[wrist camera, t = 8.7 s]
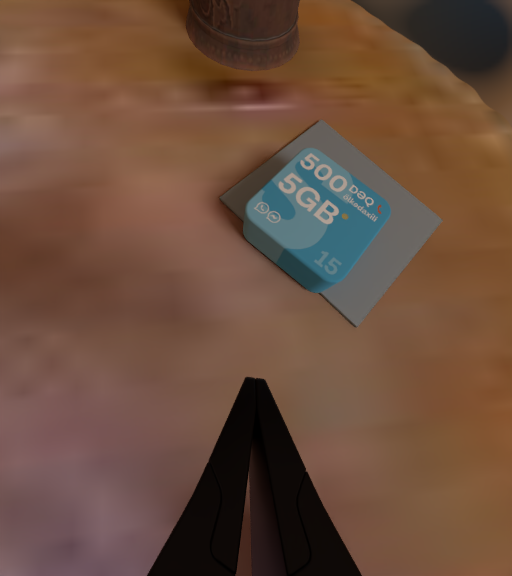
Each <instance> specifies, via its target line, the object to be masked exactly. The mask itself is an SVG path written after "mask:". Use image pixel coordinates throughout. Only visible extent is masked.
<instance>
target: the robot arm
mask: <svg viewBox="0 0 512 576" xmlns="http://www.w3.org/2000/svg"><path fill="white" fill-rule="evenodd" d="M305 471H306V468H305V466H304V464H303V461H302V459H301V457H300V455H299V453H298V450H297V448H296V446H295V444H294V442H293V440H292V437H291V435H290V433H289V431H288V429H287V426H286V424H285V422H284V420H283V418H282V415H281V413H280V411H279V409H278V407H277V404H276V402H275V400H274V398H273V396H272V393H271V391H270V389H269V387H268V385H267V383H266V381H265V380H264V379H260V378H256V379H255V378H252V377H246V378H245V380H244V382H243V384H242V386H241V389H240V391H239V393H238V395H237V398H236V400H235V402H234V404H233V407H232V409H231V411H230V413H229V416H228V418H227V420H226V422H225V425H224V427H223V429H222V431H221V434H220V436H219V438H218V440H217V443H216V445H215V447H214V449H213V452H212V454H211V456H210V458H209V462H208V463H207V465H206V467H205V469H204V472H203V474H202V476H201V478H200V480H199V482H198V484H197V486H196V489H195V491H194V493H193V495H192V497H191V498H190V500H189V502H188V504H187V506H186V508H185V510H184V511H183V513H182V515H181V517H180V519H179V520H178V522H177V524H176V526H175V527H174V529H173V531H172V533H171V534H170V536H169V538H168V540H167V541H166V543H165V545H164V547H163V548H162V550H161V552H160V554H159V555H158V557H157V559H156V561H155V562H154V564H153V566H152V568H151V569H150V571H149V573H148V575H147V576H235V574H236V570H237V562H238V554H239V546H240V538H241V529H242V521H243V513H244V505H245V497H246V488H247V480H248V472H249V482H250V519H251V556H252V576H362V575H361V573H360V571H359V569H358V568H357V566H356V564H355V562H354V560H353V559H352V557H351V555H350V553H349V551H348V550H347V548H346V546H345V544H344V542H343V541H342V539H341V537H340V535H339V534H338V532H337V530H336V528H335V526H334V524H333V523H332V521H331V519H330V517H329V515H328V513H327V511H326V510H325V508H324V506H323V504H322V502H321V500H320V498H319V496H318V494H317V492H316V489H315V487H314V485H313V483H312V481H311V479H310V477H309V474H308V472H307V471H306V472H305Z"/></svg>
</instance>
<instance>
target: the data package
mask: <svg viewBox="0 0 512 576" xmlns="http://www.w3.org/2000/svg"><path fill="white" fill-rule="evenodd" d="M390 215H391V208H390V205H389V204H388V202H387V201H386V200H385V199H384V198H382V197H381V196H380V195H378V194H377V193H376V192H374V191H373V190H372V189H370V188H369V187H368V186H366V185H365V184H364V183H362V182H361V181H360V180H358V179H357V178H356V177H354V176H353V175H352V174H350V173H349V172H348V171H346V170H345V169H344V168H342V167H341V166H340V165H338V164H337V163H336V162H334V161H333V160H331V159H330V158H329V157H327V156H326V155H325V154H323V153H322V152H321V151H319V150H317V149H315V148H305V149H303V150H301V151H300V152H299V153H298V154H297V155H296V156H295V157H294V158H293V159H291V160H290V161H289V162H288V163H287V164H286V165H285V166H284V167H283V168H282V169H281V170H280V171H279V172H278V173H277V174H276V175H275V176H274V177H273V178H272V179H271V180H270V181H268V182H267V183H266V184H265V185H264V186H263V187H262V188H261V189H260V190H259V191H258V192H257V193H256V194H255V195H254V196H253V197H252V198H251V199H250V200H249V201H248V202H247V204H246V206H245V214H244V225H243V234H244V237H245V238H246V240H247V241H249V242H250V243H251V244H252V245H253V246H255V247H256V248H257V249H258V250H259V251H261V252H262V253H263V254H264V255H266V256H267V257H268V258H269V259H270V260H272V261H273V262H274V263H275V264H277V265H278V266H279V267H280V268H281V269H283V270H284V271H285V272H286V273H288V274H289V275H290V276H291V277H292V278H294V279H295V280H296V281H297V282H299V283H300V284H301V285H302V286H303V287H305V288H306V289H307V290H309V291H311V292H314V293H319V292H322V291H324V290H326V289H328V288H330V287H331V286H333V285H335V284H337V283H339V282H340V281H342V280H343V279H344V278H345V277H346V276H347V274H348V273H349V272H350V270H351V269H352V268H353V266H354V265H355V264H356V262H357V261H358V260H359V258H360V257H361V256H362V254H363V253H364V251H365V250H366V249H367V247H368V246H369V245H370V243H371V242H372V241H373V239H374V238H375V237H376V235H377V234H378V233H379V231H380V230H381V228H382V227H383V226H384V224H385V223H386V222H387V220H388V219H389V217H390Z"/></svg>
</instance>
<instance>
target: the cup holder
mask: <svg viewBox="0 0 512 576" xmlns="http://www.w3.org/2000/svg"><path fill="white" fill-rule="evenodd" d="M299 1H300V0H189V2H190V7H189V11H188V15H187V21H186V29H187V32H188V35H189V38H190V39H191V41H192V42H193V43H194V45H195V46H196V48H198V49H199V50H200V51H201V52H202V53H203V54H205V55H206V56H207V57H209V58H211V59H212V60H214V61H216V62H218V63H220V64H222V65H225V66H229V67H232V68H235V69H241V70H249V71H258V70H269V69H272V68H275V67H279V66H281V65H283V64H284V63H286V62H288V61H289V60H291V58H292V57H293V56H294V55H295V53H296V52H297V50H298V46H299V43H300V42H299V32H298V27H297V22H298V6H299Z"/></svg>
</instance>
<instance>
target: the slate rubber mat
mask: <svg viewBox="0 0 512 576" xmlns="http://www.w3.org/2000/svg"><path fill="white" fill-rule="evenodd" d="M305 148H315V149H317V150H319V151H321V152H322V153H323V154H325V155H326V156H327V157H329V158H330V159H331V160H333V161H334V162H336V163H337V164H338V165H340V166H341V167H342V168H344V169H345V170H346V171H348V172H349V173H350V174H352V175H353V176H354V177H356V178H357V179H358V180H360V181H361V182H362V183H364V184H365V185H366V186H368V187H369V188H370V189H372V190H373V191H374V192H376V193H377V194H378V195H380V196H381V197H382V198H384V199H385V200H386V201H387V202H388V204H389V205H390V208H391V215H390V217H389V219H388V220H387V222H386V223H385V224H384V226H383V227H382V228H381V230H380V231H379V233H378V234H377V235H376V237H375V238H374V239H373V241H372V242H371V243H370V245H369V246H368V247H367V249H366V250H365V251H364V253H363V254H362V256H361V257H360V258H359V260H358V261H357V262H356V264H355V265H354V266H353V268H352V269H351V270H350V272H349V273H348V274H347V276H346V277H345V278H344V279H343V280H342V281H340V282H339V283H337V284H335V285H333V286H331V287H330V288H328V289H326V290H324V291H322V292H319V294H320V295H322V296H323V297H324V298H325V299H326V300H327V301H328V302H329V303H330V304H331V305H332V306H333V307H334V308H335V309H336V310H337V311H338V312H340V313H341V314H342V315H343V316H344V317H345V318H346V319H347V320H348V321H349V322H350V323H351V324H352V325H353V326H354V327H358V326H359V324H360V323H361V322H362V321H363V319H364V318H365V317H366V316H367V314H368V313H369V312H370V311H371V309H372V308H373V307H374V306H375V304H376V303H377V302H378V301H379V299H380V298H381V297H382V296H383V294H384V293H385V292H386V291H387V289H388V288H389V287H390V286H391V284H392V283H393V282H394V281H395V279H396V278H397V277H398V276H399V274H400V273H401V272H402V271H403V269H404V268H405V267H406V266H407V264H408V263H409V262H410V261H411V259H412V258H413V257H414V256H415V254H416V253H417V252H418V251H419V249H420V248H421V247H422V246H423V244H424V243H425V242H426V241H427V239H428V238H429V237H430V236H431V234H432V233H433V232H434V231H435V229H436V228H437V227H438V226H439V224H440V223H441V222H442V221H443V220H442V219H441V218H440V217H438V216H437V215H436V214H435V213H434V212H432V211H431V210H430V209H429V208H427V207H426V206H425V205H424V204H423V203H421V202H420V201H419V200H418V199H417V198H415V197H414V196H413V195H412V194H411V193H409V192H408V191H407V190H406V189H405V188H403V187H402V186H401V185H400V184H399V183H397V182H396V181H395V180H394V179H393V178H391V177H390V176H389V175H388V174H387V173H385V172H384V171H383V170H382V169H381V168H379V167H378V166H377V165H376V164H375V163H373V162H372V161H371V160H370V159H368V158H367V157H366V156H365V155H364V154H362V153H361V152H360V151H359V150H358V149H356V148H355V147H354V146H353V145H352V144H350V143H349V142H348V141H347V140H346V139H344V138H343V137H342V136H341V135H340V134H338V133H337V132H336V131H335V130H334V129H332V128H331V127H330V126H329V125H328V124H326V123H325V122H324V121H323V120H320V121H319V122H318V123H316V124H315V125H314V126H312V127H311V128H310V129H308V130H307V131H306V132H305V133H303V134H302V135H301V136H299V137H298V138H297V139H295V140H294V141H293V142H291V143H290V144H289V145H287V146H286V147H285V148H284V149H282V150H281V151H280V152H278V153H277V154H276V155H274V156H273V157H272V158H270V159H269V160H268V161H267V162H265V163H264V164H263V165H261V166H260V167H259V168H257V169H256V170H255V171H253V172H252V173H251V174H249V175H248V176H247V177H246V178H244V179H243V180H242V181H240V182H239V183H238V184H236V185H235V186H234V187H232V188H231V189H230V190H229V191H227V192H226V193H225V194H223V195H222V196H221V197H220V200H221V201H222V202H223V203H224V204H225V205H226V206H227V207H228V208H229V209H230V210H232V211H233V212H234V213H235V214H236V215H237V216H238V217H239V218H240V219H241V220H242V221H243V222H244V214H245V206H246V204H247V202H248V201H249V200H250V199H251V198H252V197H253V196H254V195H255V194H256V193H257V192H258V191H259V190H260V189H261V188H262V187H263V186H264V185H265V184H266V183H267V182H268V181H270V180H271V179H272V178H273V177H274V176H275V175H276V174H277V173H278V172H279V171H280V170H281V169H282V168H283V167H284V166H285V165H286V164H287V163H288V162H289V161H290V160H291V159H293V158H294V157H295V156H296V155H297V154H298V153H299V152H300V151H301V150H303V149H305Z"/></svg>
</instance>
